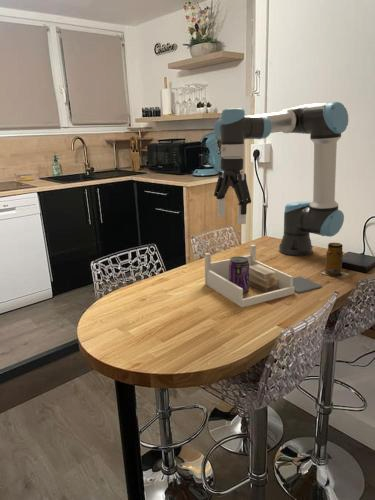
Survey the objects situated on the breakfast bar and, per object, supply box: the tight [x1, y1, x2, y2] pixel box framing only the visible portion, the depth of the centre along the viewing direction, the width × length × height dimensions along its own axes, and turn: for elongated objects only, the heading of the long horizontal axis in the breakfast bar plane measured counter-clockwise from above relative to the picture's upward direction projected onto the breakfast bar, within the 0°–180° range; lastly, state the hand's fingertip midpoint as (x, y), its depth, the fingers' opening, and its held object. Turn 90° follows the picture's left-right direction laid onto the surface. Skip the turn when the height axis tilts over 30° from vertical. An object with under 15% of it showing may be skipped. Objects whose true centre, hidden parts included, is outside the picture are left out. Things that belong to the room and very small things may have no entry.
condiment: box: [320, 242, 350, 279], centre depth 149 cm, size 7×8×12 cm
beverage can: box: [228, 256, 250, 294], centre depth 135 cm, size 7×7×12 cm
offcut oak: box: [249, 273, 278, 288], centre depth 140 cm, size 5×11×2 cm, turn 34°
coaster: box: [293, 276, 323, 294], centre depth 140 cm, size 11×11×1 cm
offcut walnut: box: [249, 281, 278, 293], centre depth 141 cm, size 5×12×2 cm, turn 29°
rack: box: [204, 244, 295, 308], centre depth 137 cm, size 22×24×12 cm
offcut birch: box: [249, 264, 276, 281], centre depth 140 cm, size 5×10×2 cm, turn 27°
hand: (231, 220), depth 134 cm, fingers open, 13 cm apart
